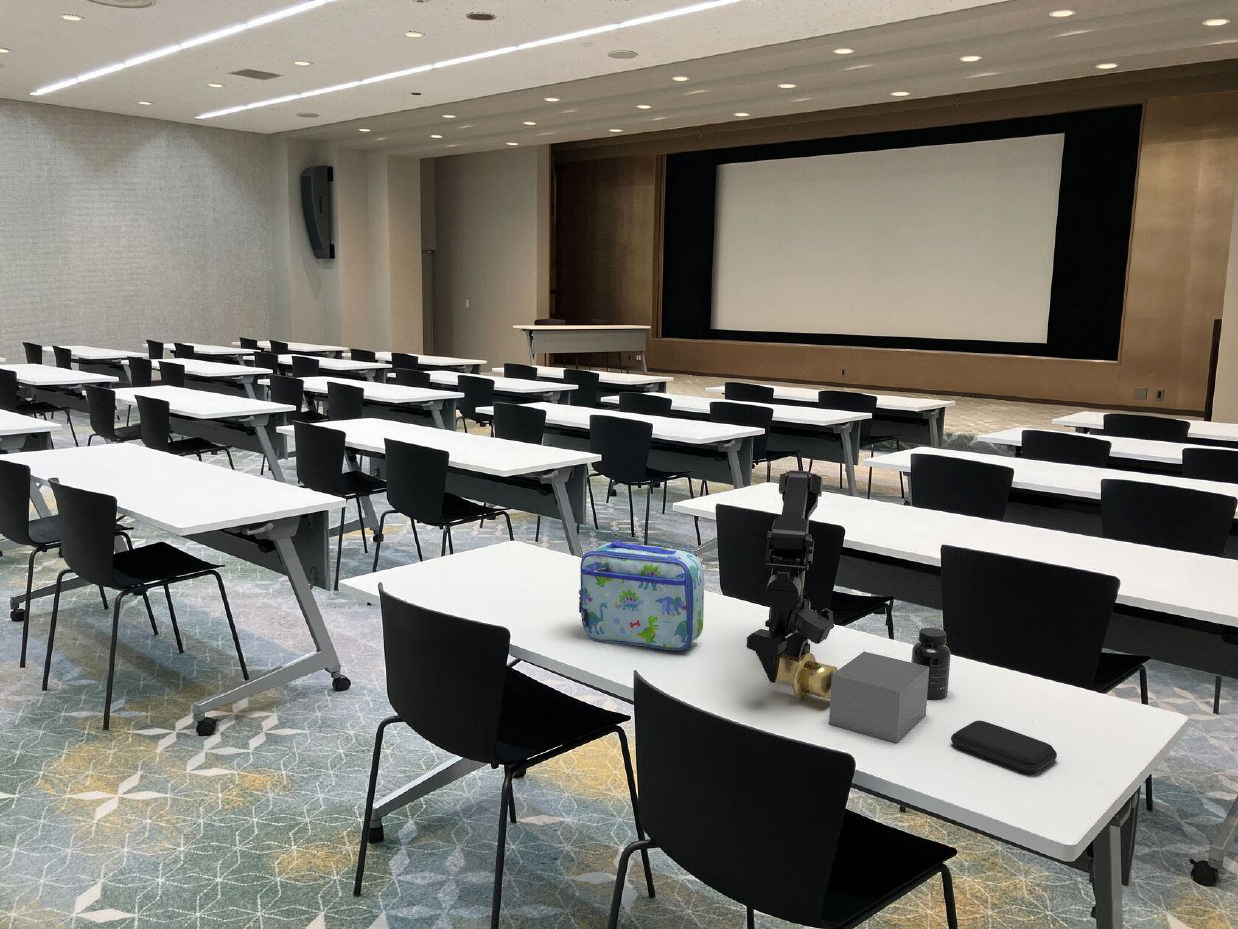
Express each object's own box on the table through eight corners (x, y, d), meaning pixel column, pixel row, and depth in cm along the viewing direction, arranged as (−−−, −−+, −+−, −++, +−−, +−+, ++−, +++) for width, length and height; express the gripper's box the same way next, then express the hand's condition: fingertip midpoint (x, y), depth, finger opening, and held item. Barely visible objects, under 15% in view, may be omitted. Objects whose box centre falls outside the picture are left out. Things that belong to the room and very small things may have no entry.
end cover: (767, 697, 179) (768, 654, 178) (788, 683, 186) (790, 641, 184) (821, 713, 173) (823, 667, 171) (840, 697, 180) (843, 653, 178)
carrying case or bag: (1063, 760, 158) (977, 729, 169) (1065, 742, 157) (979, 712, 168) (1033, 781, 151) (945, 748, 162) (1034, 763, 150) (946, 731, 161)
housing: (829, 724, 169) (831, 674, 167) (861, 698, 180) (864, 651, 179) (896, 743, 162) (900, 692, 160) (925, 715, 173) (929, 666, 172)
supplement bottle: (901, 688, 185) (905, 627, 183) (931, 683, 187) (936, 623, 185) (924, 702, 179) (929, 639, 176) (955, 697, 181) (960, 635, 179)
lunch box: (573, 639, 208) (573, 544, 205) (595, 624, 218) (596, 532, 214) (688, 660, 198) (690, 559, 194) (706, 643, 207) (709, 547, 204)
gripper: (804, 616, 166) (800, 703, 169) (849, 590, 181) (844, 670, 184) (746, 603, 173) (743, 687, 176) (794, 579, 188) (790, 657, 190)
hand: (783, 675), depth 181 cm, fingers open, 8 cm apart
